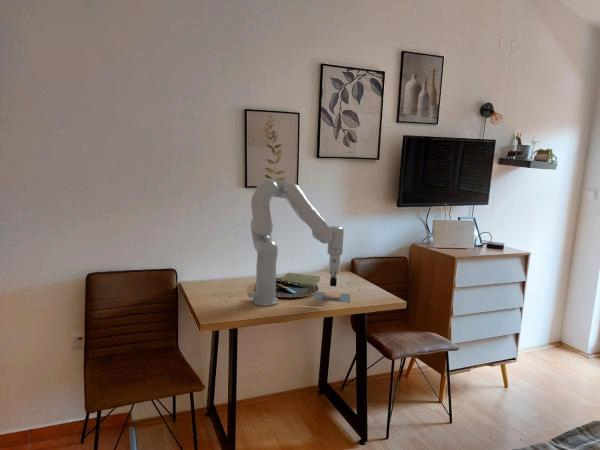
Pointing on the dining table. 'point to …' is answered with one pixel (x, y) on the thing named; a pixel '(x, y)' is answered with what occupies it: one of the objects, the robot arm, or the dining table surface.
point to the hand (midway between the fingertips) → (333, 285)
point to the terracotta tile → (332, 295)
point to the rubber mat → (342, 299)
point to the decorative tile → (301, 279)
